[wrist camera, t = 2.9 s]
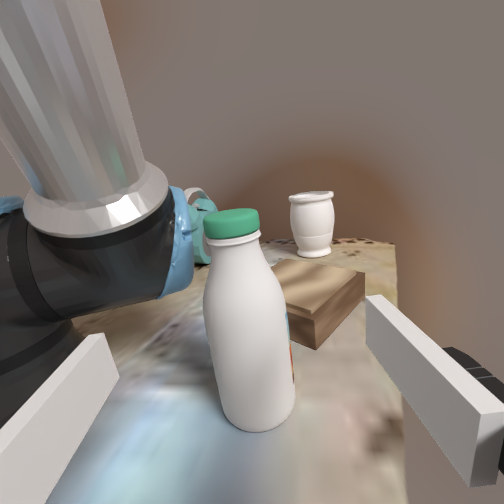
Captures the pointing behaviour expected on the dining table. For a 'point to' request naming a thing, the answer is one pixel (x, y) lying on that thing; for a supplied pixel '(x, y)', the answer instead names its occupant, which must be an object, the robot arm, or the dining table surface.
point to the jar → (312, 222)
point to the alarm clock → (200, 224)
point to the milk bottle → (246, 324)
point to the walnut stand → (317, 298)
